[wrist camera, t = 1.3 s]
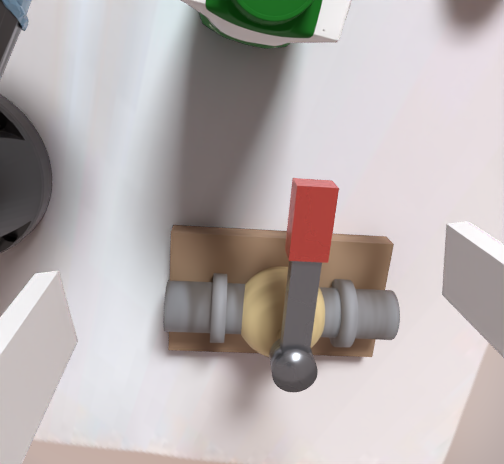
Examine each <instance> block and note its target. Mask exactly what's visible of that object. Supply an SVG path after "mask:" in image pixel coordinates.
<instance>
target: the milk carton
mask: <svg viewBox="0 0 504 464" xmlns="http://www.w3.org/2000/svg"><path fill="white" fill-rule="evenodd" d="M181 1H183V2H184V3H186V4H188V5H189V6H191V7H192V8H194V9H195V10H197V11H198V12H199V14H200V17H201V20H202V23H203V24H204V25H205V26H207V27H209V28H210V29H212V30H213V31H215V32H216V33H218V34H219V35H221V36H223V37H225V38H228V39H231V40H234V41H237V42H240V43H243V44H247V45H251V46H256V47H261V48H278V47H286V46H287V45H289V44H290V43H318V42H337V41H338V40H339V39H340V36H341V33H342V30H343V26H344V23H345V20H346V17H347V14H348V11H349V8H350V5H351V1H352V0H181Z"/></svg>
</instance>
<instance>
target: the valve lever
mask: <svg viewBox="0 0 504 464" xmlns="http://www.w3.org/2000/svg"><path fill="white" fill-rule="evenodd" d="M338 191H339V188H338V187H337V186H336V185H335V183H334V182H333V181H330V180H314V179H298V178H293V180H292V189H291V198H290V208H289V217H288V226H287V235H286V245H285V251H286V254H287V257H288V260H289V266H288V275H287V284H286V293H285V301H284V310H283V319H282V328H281V337H280V339H278V340H277V341H276V342H274V344H273V345H272V347H271V349H270V352H269V357H270V363H271V370H272V376H273V380H274V382H275V384H276V385H277V386H278V387H279V388H280V389H282V390H284V391H287V392H299V391H303V390H305V389H307V388H308V387H310V386H311V385H312V384H313V383H314V381H315V380H316V377H317V366H316V363H315V360H314V357H313V353H312V350H311V340H312V333H313V325H314V318H315V311H316V304H317V296H318V289H319V282H320V275H321V267H322V262H323V263H328V261H329V254H330V247H331V240H332V233H333V226H334V219H335V212H336V205H337V198H338Z"/></svg>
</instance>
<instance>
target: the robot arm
mask: <svg viewBox="0 0 504 464" xmlns="http://www.w3.org/2000/svg"><path fill="white" fill-rule="evenodd" d="M30 3H31V0H0V80H1V78H2V75H3V73H4V70H5V68H6V66H7V63H8V61H9V58H10V56H11V53H12V51H13V49H14V46H15V44H16V41H17V39H18V36H19V34H20V31H21V30H23V31H25V30H26V28H27V26H28V18H27V15H26V14H27V12H28V9H29V6H30ZM51 189H52V173H51V166H50V161H49V157H48V154H47V151H46V148H45V146H44V144H43V141H42V139H41V137H40V136H39V134H38V132H37V131H36V129H35V128H34V126H33V125H32V123H31V122H30V121H29V120H28V118H27V117H26V116H25V115H24V114H23V113H22V112H21V111H20V110H19V109H18V108H17V107H16V106H15V105H14V104H13V103H11V102H10V101H9V100H8V99H6V98H5V97H3V96H2V95H0V253H2V252H4V251H6V250H8V249H9V248H11V247H13V246H14V245H16V244H17V243H18V242H19V241H21V240H22V239H23V238H24V237H25V236H26V235H28V234H29V233H30V232H31V231H32V230H33V229H34V228H35V227H36V226H37V224H38V223H39V222H40V220H41V218H42V217H43V215H44V213H45V211H46V209H47V206H48V203H49V200H50V195H51ZM442 295H443V296H444V297H445V298H446V299H447V300H448V301H449V302H450V303H451V304H452V305H453V306H454V307H455V308H456V309H457V310H458V311H459V312H460V314H461V315H462V316H463V317H464V318H465V319H466V320H467V321H468V322H469V323H470V324H471V325H472V326H473V327H474V328H475V329H476V330H477V331H478V332H479V333H480V334H481V335H482V336H483V337H484V338H485V339H486V340H487V341H488V342H489V343H490V344H491V345H492V346H493V347H494V348H495V349H496V350H497V351H498V352H499V354H501V355H502V357H503V358H504V244H503V243H501V242H500V241H498V240H497V239H495V238H494V237H492V236H490V235H489V234H487V233H486V232H484V231H483V230H481V229H480V228H478V227H476V226H475V225H473V224H472V223H470V222H469V221H466V222H458V223H450V224H446V240H445V256H444V272H443V288H442ZM77 342H78V340H77V336H76V333H75V329H74V325H73V321H72V318H71V314H70V310H69V307H68V303H67V299H66V295H65V292H64V288H63V284H62V281H61V277H60V273H59V271H51V272H42V273H35V274H34V275H33V277H32V278H31V279H30V280H29V282H28V283H27V284H26V286H25V287H24V288H23V289H22V291H21V292H20V293H19V294H18V296H17V297H16V298H15V299H14V301H13V302H12V303H11V304H10V306H9V307H8V308H7V310H6V311H5V312H4V313H3V315H2V316H1V317H0V464H22V462H23V460H24V458H25V456H26V454H27V452H28V449H29V447H30V445H31V443H32V441H33V439H34V436H35V434H36V432H37V430H38V428H39V425H40V423H41V421H42V419H43V417H44V414H45V412H46V410H47V408H48V406H49V403H50V401H51V399H52V397H53V395H54V392H55V390H56V388H57V386H58V384H59V381H60V379H61V377H62V375H63V373H64V370H65V368H66V366H67V364H68V362H69V360H70V357H71V355H72V353H73V351H74V349H75V346H76V344H77Z"/></svg>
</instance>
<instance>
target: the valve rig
mask: <svg viewBox="0 0 504 464" xmlns="http://www.w3.org/2000/svg"><path fill="white" fill-rule="evenodd" d="M286 235H287V231H274V230H255V229H237V228H218V227H200V226H182V225H173V227H172V230H171V249H170V280H168V282H167V286H166V293H165V303H164V331H165V332H169V349H168V350H180V351H209V352H239V353H260V354H262V355H264V356H267V357H269V352H270V349H271V347H272V345H273V344H274V342H276V341H277V340H278V339H280V337H281V328H282V319H283V310H284V301H285V293H286V284H287V275H288V266H289V260H288V257H287V254H286V251H285V245H286ZM393 245H394V244H393V243H392V242H391V241H390V240H389V239H388V238H387V237H384V236H366V235H347V234H332V240H331V247H330V254H329V261H328V263H323V262H322V267H321V275H320V282H319V289H318V296H317V304H316V311H315V318H314V325H313V333H312V340H311V350H312V353H313V355H328V356H358V357H372V355H373V350H374V344H375V339H383V340H392V339H394V338H395V336H396V335H397V332H398V328H399V322H400V310H399V303H398V300H397V297H396V295H395V293H394V292H393V291H391V290H385V287H386V282H387V276H388V271H389V266H390V261H391V255H392V250H393Z"/></svg>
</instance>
